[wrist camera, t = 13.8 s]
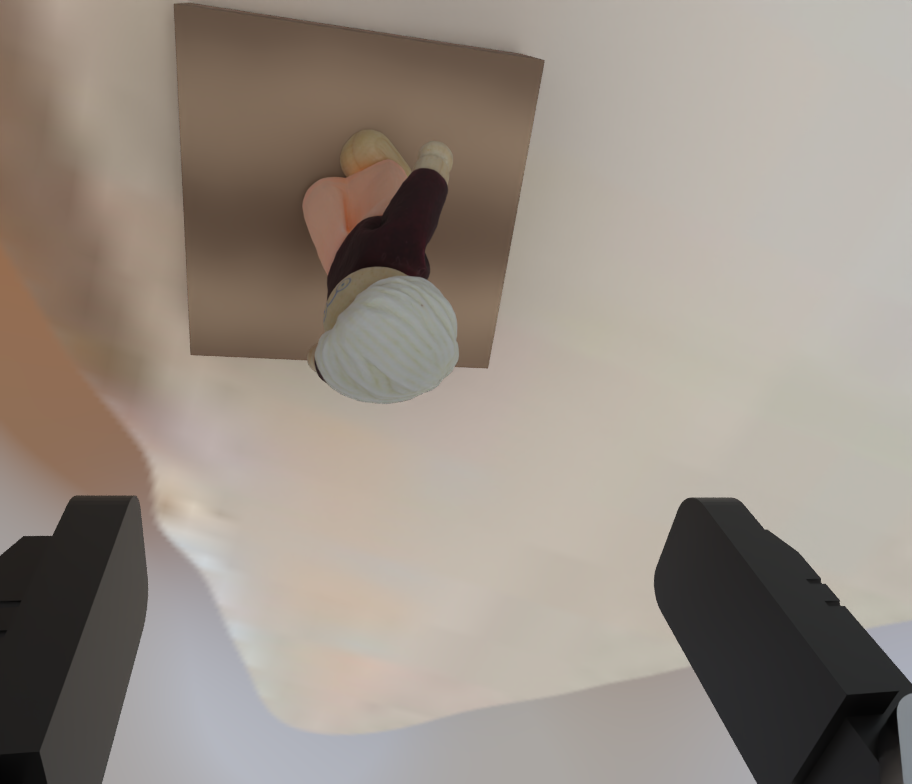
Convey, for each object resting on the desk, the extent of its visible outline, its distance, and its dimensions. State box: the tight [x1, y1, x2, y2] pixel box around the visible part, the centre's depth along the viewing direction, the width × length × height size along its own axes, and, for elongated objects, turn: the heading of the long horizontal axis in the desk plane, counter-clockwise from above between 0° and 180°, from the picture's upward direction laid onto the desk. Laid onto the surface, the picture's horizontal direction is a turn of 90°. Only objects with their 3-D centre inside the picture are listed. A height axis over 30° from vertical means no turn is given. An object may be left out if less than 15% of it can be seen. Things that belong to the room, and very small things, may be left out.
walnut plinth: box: [174, 3, 545, 368], centre depth 26 cm, size 12×12×3 cm
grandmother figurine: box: [302, 129, 459, 404], centre depth 20 cm, size 8×4×13 cm, turn 160°
